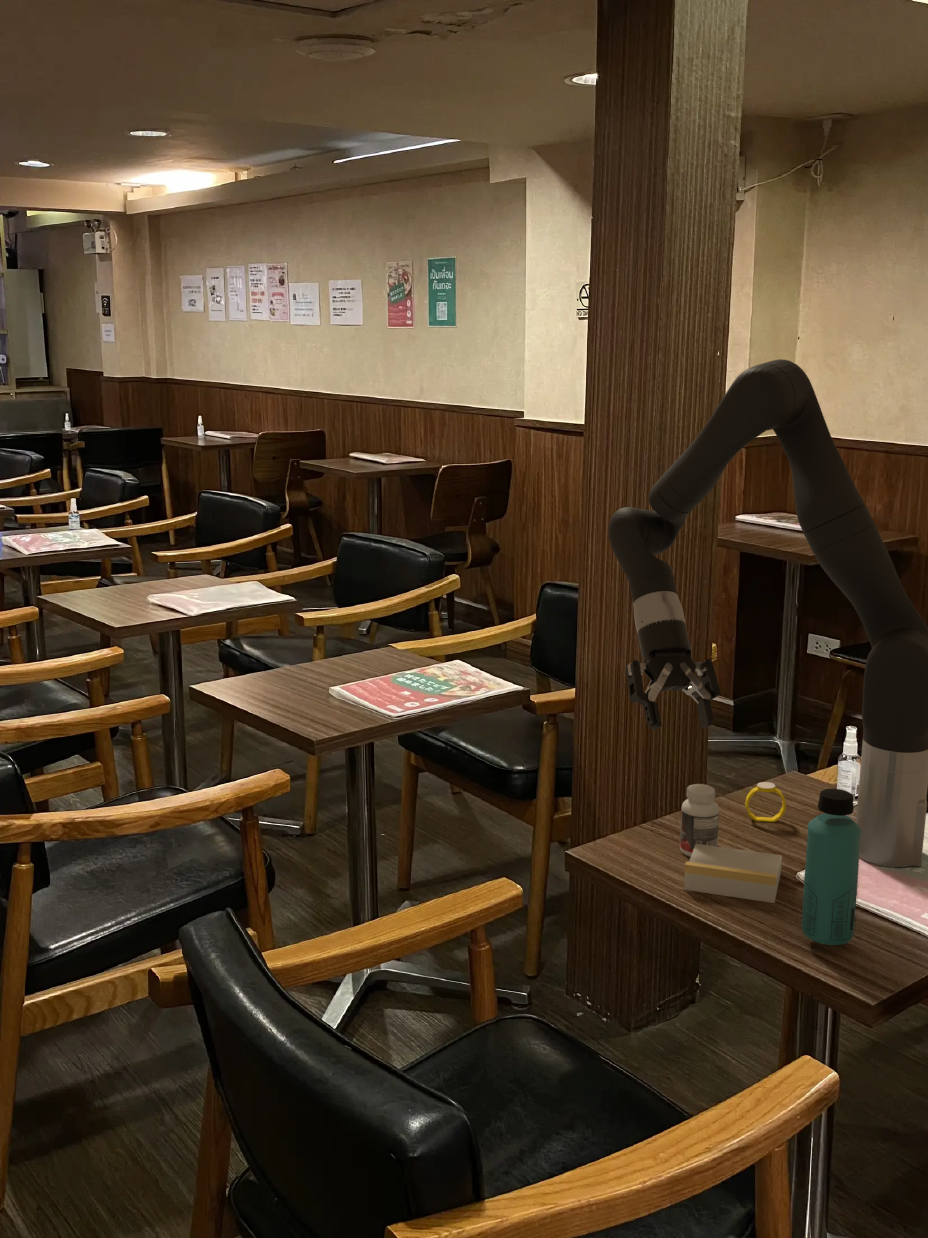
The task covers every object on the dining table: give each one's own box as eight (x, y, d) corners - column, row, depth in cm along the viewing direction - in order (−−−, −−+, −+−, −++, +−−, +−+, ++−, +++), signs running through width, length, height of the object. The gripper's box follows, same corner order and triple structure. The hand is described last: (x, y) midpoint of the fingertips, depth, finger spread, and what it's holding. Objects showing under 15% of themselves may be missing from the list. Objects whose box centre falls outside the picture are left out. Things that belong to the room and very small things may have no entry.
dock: (780, 872, 168) (782, 847, 167) (774, 903, 159) (776, 877, 158) (695, 859, 172) (696, 835, 171) (683, 889, 163) (685, 864, 162)
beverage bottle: (856, 960, 145) (869, 805, 140) (799, 954, 146) (811, 800, 141) (850, 934, 151) (863, 785, 146) (796, 928, 152) (807, 780, 147)
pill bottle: (675, 844, 177) (678, 782, 175) (710, 843, 177) (713, 781, 175) (685, 860, 172) (688, 796, 169) (721, 858, 172) (725, 795, 170)
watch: (746, 825, 185) (746, 788, 183) (744, 817, 187) (744, 782, 186) (786, 824, 184) (786, 787, 183) (784, 817, 187) (783, 781, 185)
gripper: (630, 617, 178) (650, 721, 172) (713, 617, 183) (736, 718, 177) (609, 636, 185) (628, 736, 179) (690, 635, 190) (711, 733, 184)
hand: (682, 727), depth 178 cm, fingers open, 8 cm apart
